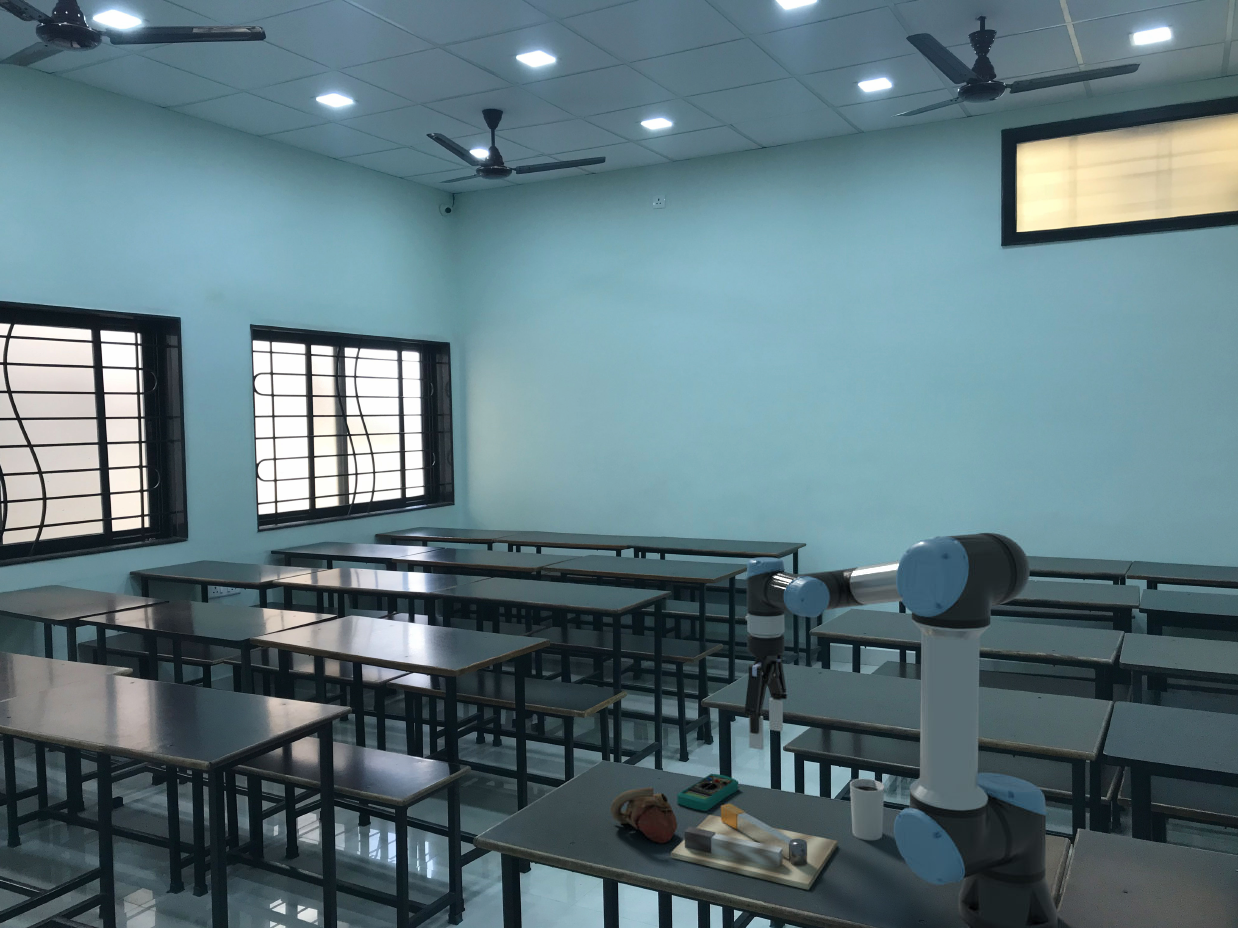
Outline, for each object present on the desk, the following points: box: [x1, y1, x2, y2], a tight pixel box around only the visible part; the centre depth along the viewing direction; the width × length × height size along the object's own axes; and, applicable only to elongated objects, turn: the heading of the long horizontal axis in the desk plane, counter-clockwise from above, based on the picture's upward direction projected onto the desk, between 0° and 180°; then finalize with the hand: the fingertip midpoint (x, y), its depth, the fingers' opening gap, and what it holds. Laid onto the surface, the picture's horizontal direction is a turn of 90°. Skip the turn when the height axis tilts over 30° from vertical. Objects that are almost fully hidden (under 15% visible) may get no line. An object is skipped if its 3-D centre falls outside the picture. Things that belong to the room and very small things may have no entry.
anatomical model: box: [610, 786, 678, 844], centre depth 183 cm, size 13×9×15 cm
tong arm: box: [720, 803, 807, 866], centre depth 176 cm, size 24×3×4 cm, turn 31°
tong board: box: [670, 814, 838, 890], centre depth 174 cm, size 27×19×4 cm
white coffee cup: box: [849, 778, 885, 841], centre depth 181 cm, size 7×7×10 cm
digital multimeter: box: [676, 773, 739, 812], centre depth 201 cm, size 8×16×3 cm, turn 144°
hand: (766, 738), depth 184 cm, fingers open, 11 cm apart
